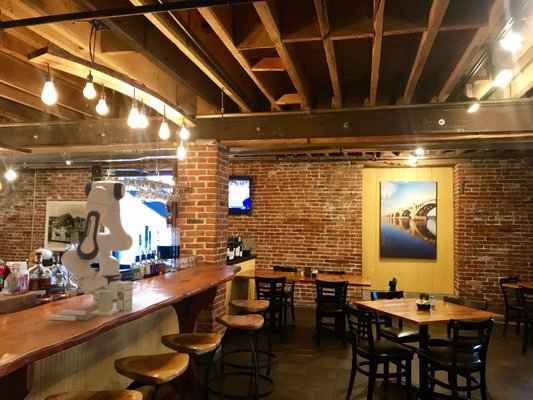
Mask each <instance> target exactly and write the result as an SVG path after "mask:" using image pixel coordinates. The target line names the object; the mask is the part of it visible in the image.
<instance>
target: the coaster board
mask: <svg viewBox="0 0 533 400" xmlns="http://www.w3.org/2000/svg"><path fill="white" fill-rule="evenodd" d="M118 312H120V310H119V309H117V308H112V310H111V311H109V312H98V309H97V310H94V311H93V312H91V313H90V314H98V316H110V317H111V316H113V315H115V314H117V313H118Z"/></svg>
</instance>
